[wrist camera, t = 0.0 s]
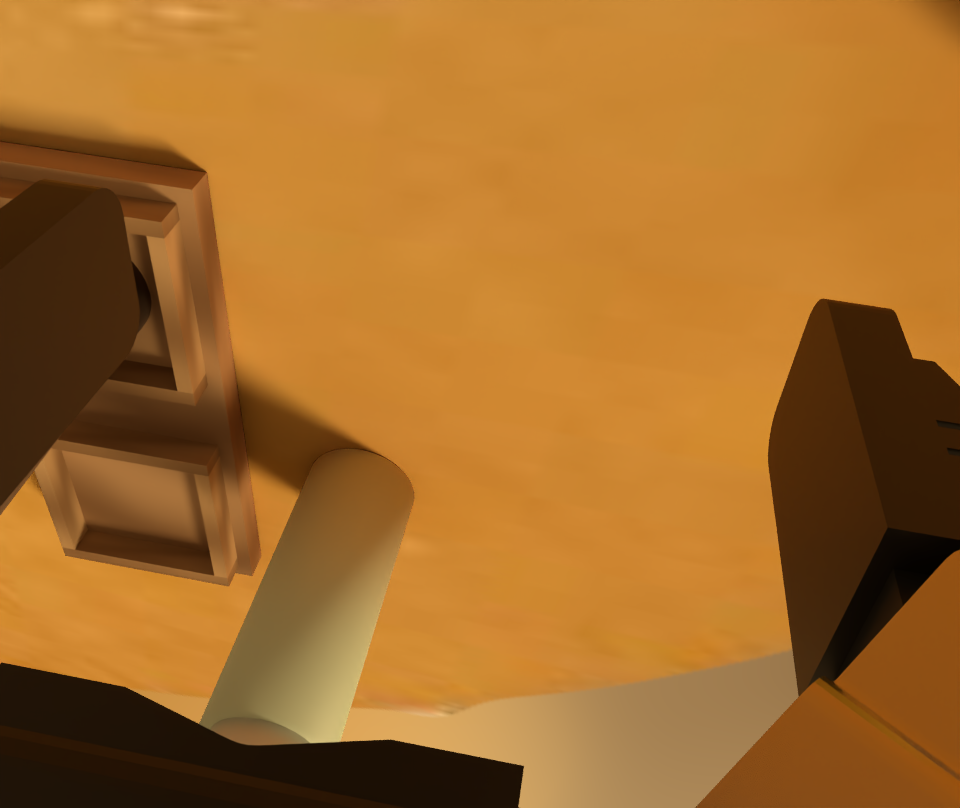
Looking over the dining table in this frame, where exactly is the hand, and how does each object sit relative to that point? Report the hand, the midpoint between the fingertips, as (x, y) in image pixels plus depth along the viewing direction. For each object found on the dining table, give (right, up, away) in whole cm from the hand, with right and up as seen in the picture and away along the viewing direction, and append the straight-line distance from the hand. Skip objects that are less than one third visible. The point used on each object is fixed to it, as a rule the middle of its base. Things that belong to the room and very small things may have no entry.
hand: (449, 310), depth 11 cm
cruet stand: (-14, 0, +26) cm, 30 cm away
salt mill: (-5, -5, +28) cm, 29 cm away
